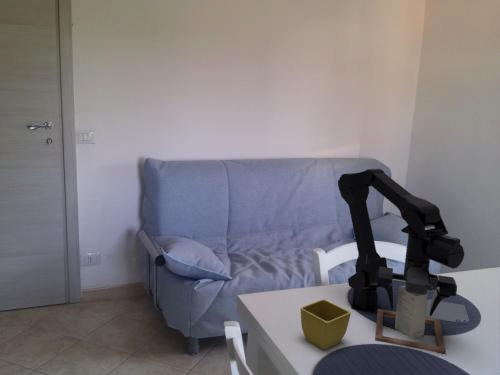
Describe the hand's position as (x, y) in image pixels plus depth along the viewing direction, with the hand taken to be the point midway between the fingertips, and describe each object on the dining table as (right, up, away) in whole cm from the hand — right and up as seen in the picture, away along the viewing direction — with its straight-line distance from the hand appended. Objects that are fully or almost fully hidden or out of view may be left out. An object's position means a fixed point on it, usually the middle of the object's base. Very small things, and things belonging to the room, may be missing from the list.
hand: (410, 311), depth 113 cm
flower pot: (-23, -7, -5) cm, 25 cm away
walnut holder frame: (0, -6, +1) cm, 6 cm away
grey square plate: (+14, -4, +13) cm, 20 cm away
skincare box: (0, -6, +1) cm, 6 cm away
